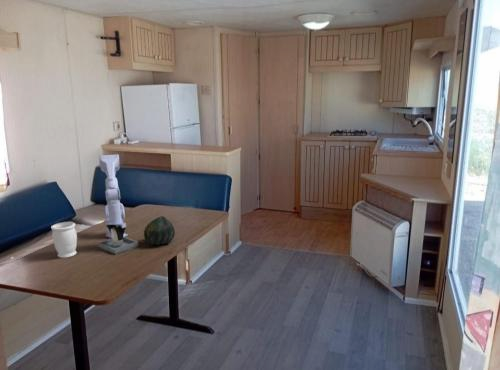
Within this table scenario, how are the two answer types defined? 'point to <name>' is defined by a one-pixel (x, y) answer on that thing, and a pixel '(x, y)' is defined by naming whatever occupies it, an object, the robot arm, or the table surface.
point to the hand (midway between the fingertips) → (117, 238)
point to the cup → (115, 237)
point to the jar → (65, 239)
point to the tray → (117, 249)
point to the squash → (159, 231)
